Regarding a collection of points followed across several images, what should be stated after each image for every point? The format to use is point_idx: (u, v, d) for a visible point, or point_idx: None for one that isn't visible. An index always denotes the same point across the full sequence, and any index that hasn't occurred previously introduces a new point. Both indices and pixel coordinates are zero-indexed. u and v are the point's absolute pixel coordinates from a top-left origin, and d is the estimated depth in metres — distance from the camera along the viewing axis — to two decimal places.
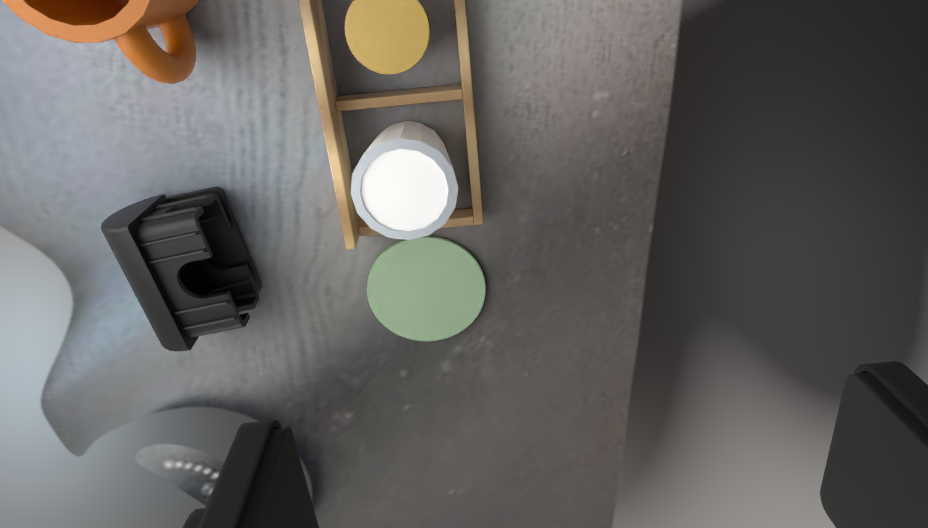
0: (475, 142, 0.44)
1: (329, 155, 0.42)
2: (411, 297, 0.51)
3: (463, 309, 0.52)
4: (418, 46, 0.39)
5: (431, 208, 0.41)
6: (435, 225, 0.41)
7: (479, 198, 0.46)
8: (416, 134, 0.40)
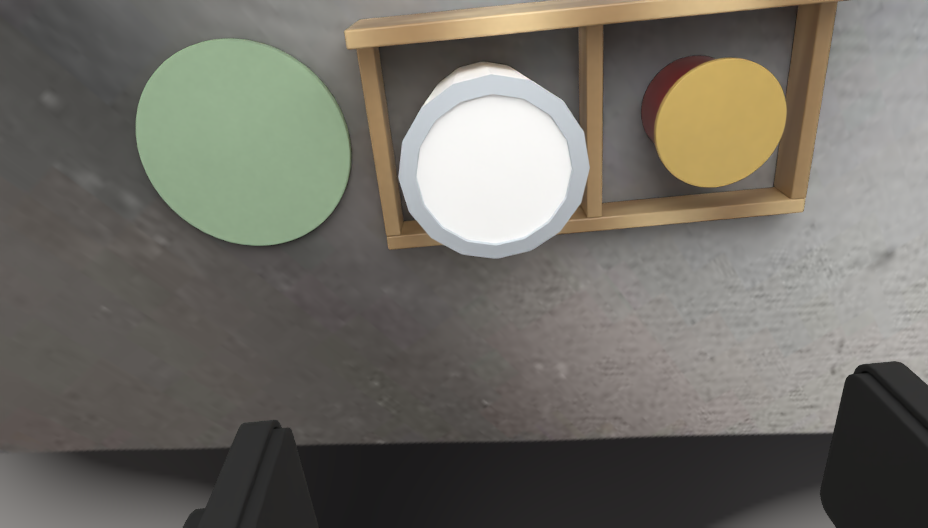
0: None
1: (533, 14, 0.23)
2: (227, 123, 0.28)
3: (216, 211, 0.30)
4: (690, 171, 0.26)
5: (460, 216, 0.23)
6: (429, 223, 0.23)
7: (431, 243, 0.29)
8: None
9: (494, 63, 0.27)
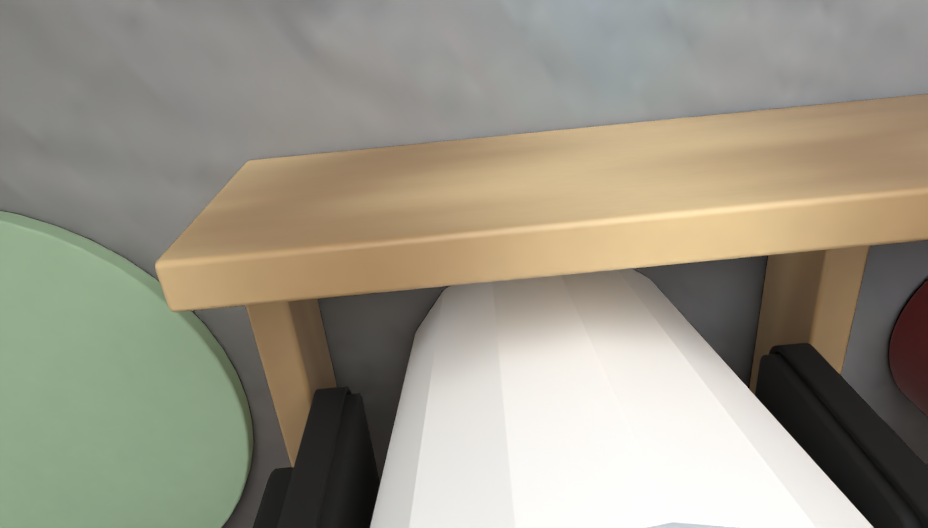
0: None
1: (755, 212, 0.07)
2: None
3: None
4: None
5: None
6: None
7: None
8: None
9: None
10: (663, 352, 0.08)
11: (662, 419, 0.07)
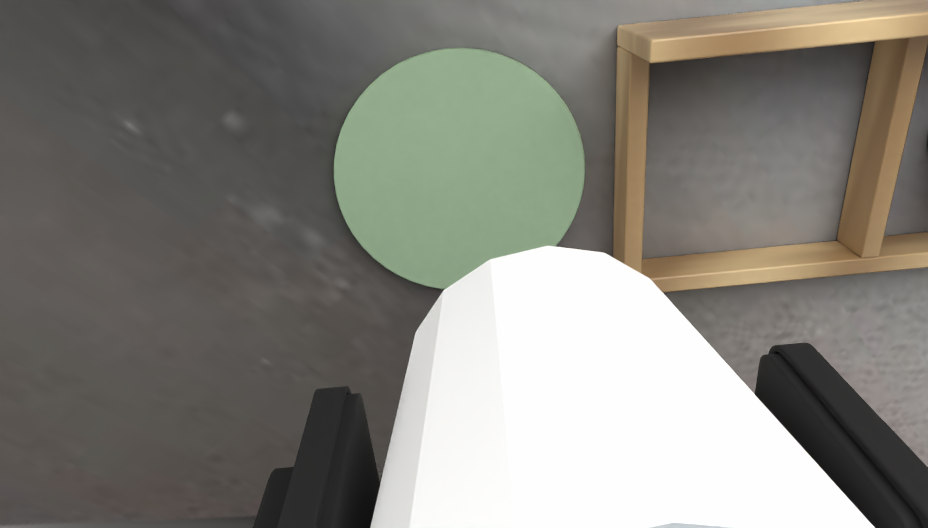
0: (781, 279, 0.25)
1: (887, 19, 0.18)
2: (444, 149, 0.23)
3: (416, 251, 0.25)
4: None
5: None
6: None
7: (675, 288, 0.25)
8: None
9: (577, 254, 0.11)
10: (664, 352, 0.08)
11: (663, 419, 0.07)
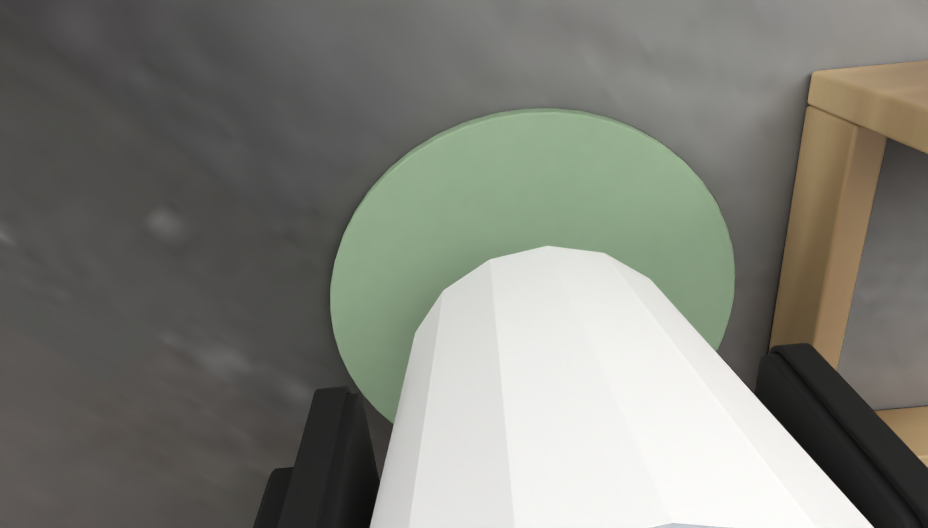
0: None
1: None
2: None
3: None
4: None
5: None
6: None
7: None
8: None
9: (576, 255, 0.11)
10: (663, 352, 0.08)
11: (662, 419, 0.07)
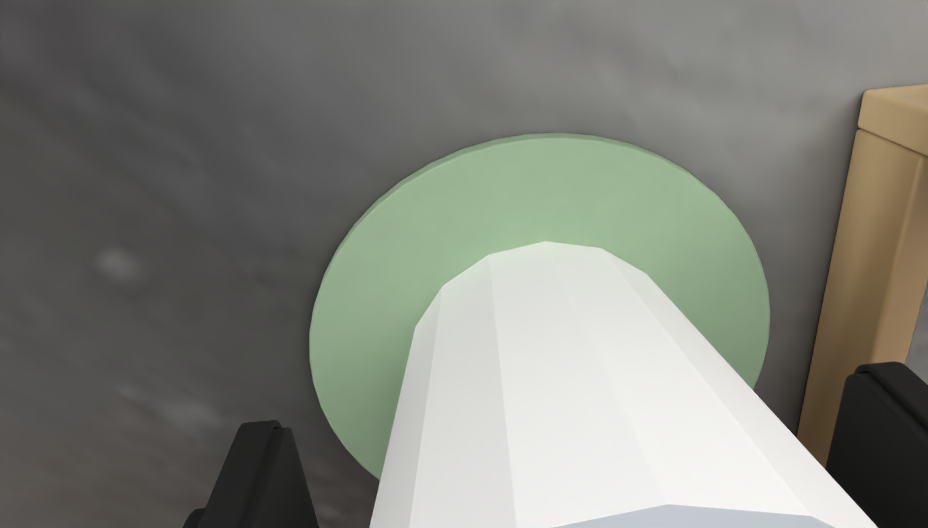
0: None
1: None
2: None
3: None
4: None
5: None
6: None
7: None
8: None
9: (574, 250, 0.12)
10: (659, 343, 0.08)
11: (658, 407, 0.07)
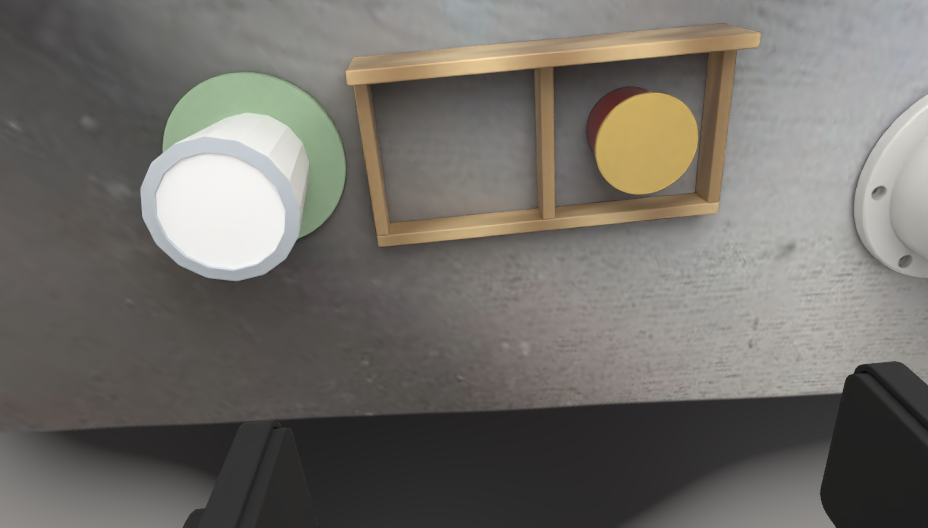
0: (489, 235, 0.35)
1: (497, 59, 0.29)
2: None
3: None
4: (624, 182, 0.32)
5: (200, 247, 0.28)
6: (174, 253, 0.28)
7: (414, 241, 0.35)
8: (302, 210, 0.30)
9: (255, 114, 0.32)
10: (247, 127, 0.29)
11: (225, 131, 0.28)
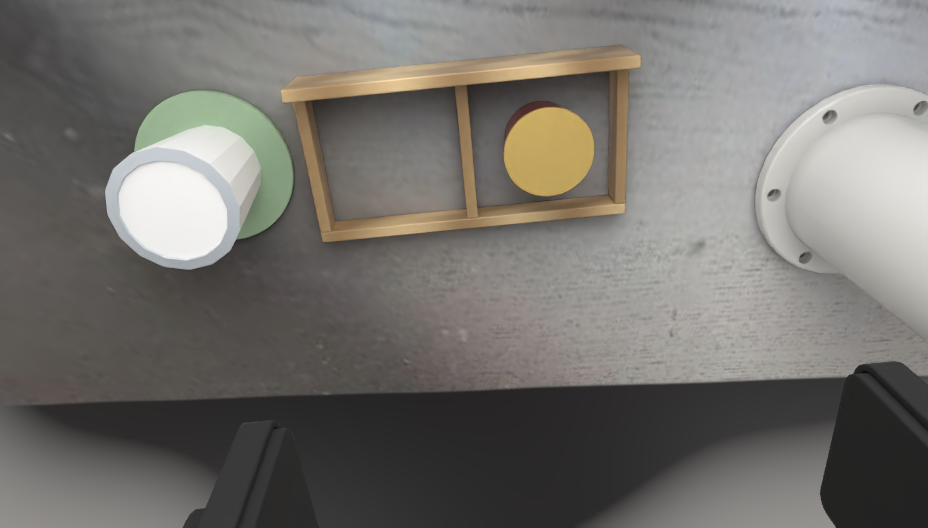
0: (420, 232, 0.40)
1: (410, 79, 0.33)
2: None
3: None
4: (531, 185, 0.37)
5: (157, 241, 0.33)
6: (135, 245, 0.33)
7: (354, 237, 0.40)
8: (246, 209, 0.35)
9: (211, 126, 0.37)
10: (198, 138, 0.34)
11: (177, 142, 0.33)
